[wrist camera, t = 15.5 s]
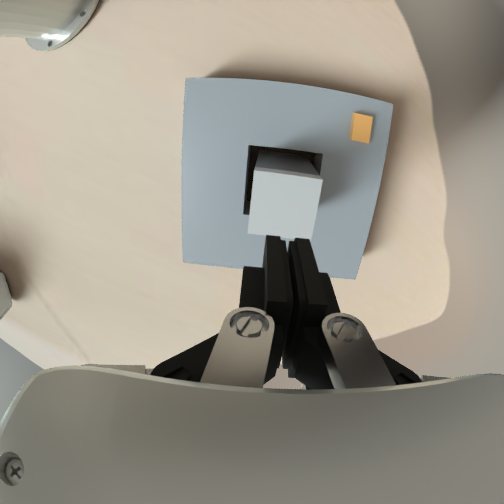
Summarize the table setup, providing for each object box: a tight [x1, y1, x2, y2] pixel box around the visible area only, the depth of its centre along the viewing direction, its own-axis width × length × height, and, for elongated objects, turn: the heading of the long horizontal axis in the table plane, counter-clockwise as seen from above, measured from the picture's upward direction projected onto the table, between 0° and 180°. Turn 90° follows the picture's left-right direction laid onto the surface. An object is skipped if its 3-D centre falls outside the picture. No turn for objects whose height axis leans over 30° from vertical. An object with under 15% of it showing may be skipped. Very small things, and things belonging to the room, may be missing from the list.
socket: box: [182, 78, 393, 279], centre depth 26 cm, size 18×18×5 cm
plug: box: [247, 150, 323, 241], centre depth 24 cm, size 5×5×10 cm
